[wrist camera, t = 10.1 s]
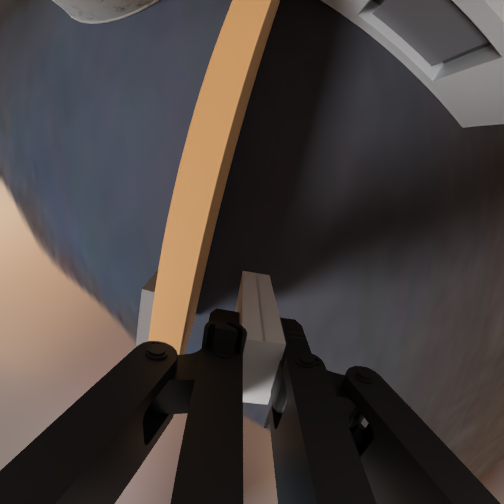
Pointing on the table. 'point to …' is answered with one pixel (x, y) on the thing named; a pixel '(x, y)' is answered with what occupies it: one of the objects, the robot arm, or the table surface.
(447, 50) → the knobbed white cabinet
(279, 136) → the table surface
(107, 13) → the grey mottled cylinder
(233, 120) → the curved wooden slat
